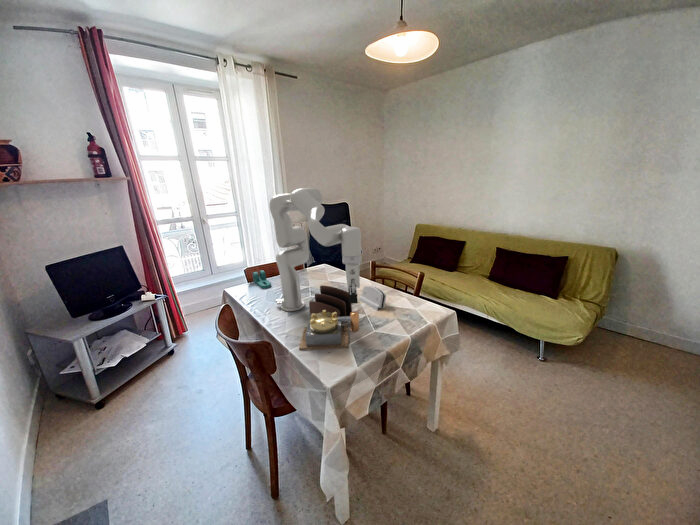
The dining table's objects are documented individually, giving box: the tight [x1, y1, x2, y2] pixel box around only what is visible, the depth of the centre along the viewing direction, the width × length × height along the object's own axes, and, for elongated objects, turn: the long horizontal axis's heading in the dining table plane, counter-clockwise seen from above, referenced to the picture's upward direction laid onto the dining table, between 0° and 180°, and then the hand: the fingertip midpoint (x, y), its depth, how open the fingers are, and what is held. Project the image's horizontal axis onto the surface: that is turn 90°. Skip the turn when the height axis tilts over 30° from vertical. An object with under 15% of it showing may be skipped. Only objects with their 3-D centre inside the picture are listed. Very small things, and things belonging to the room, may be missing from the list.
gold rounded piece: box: [309, 310, 360, 333], centre depth 118 cm, size 21×12×8 cm, turn 92°
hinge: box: [358, 285, 387, 311], centre depth 149 cm, size 17×5×10 cm, turn 35°
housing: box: [298, 320, 350, 350], centre depth 119 cm, size 20×16×6 cm
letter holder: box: [308, 285, 353, 325], centre depth 136 cm, size 10×20×14 cm, turn 54°
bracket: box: [252, 269, 272, 290], centre depth 183 cm, size 18×7×8 cm, turn 36°
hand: (352, 297), depth 115 cm, fingers open, 9 cm apart
